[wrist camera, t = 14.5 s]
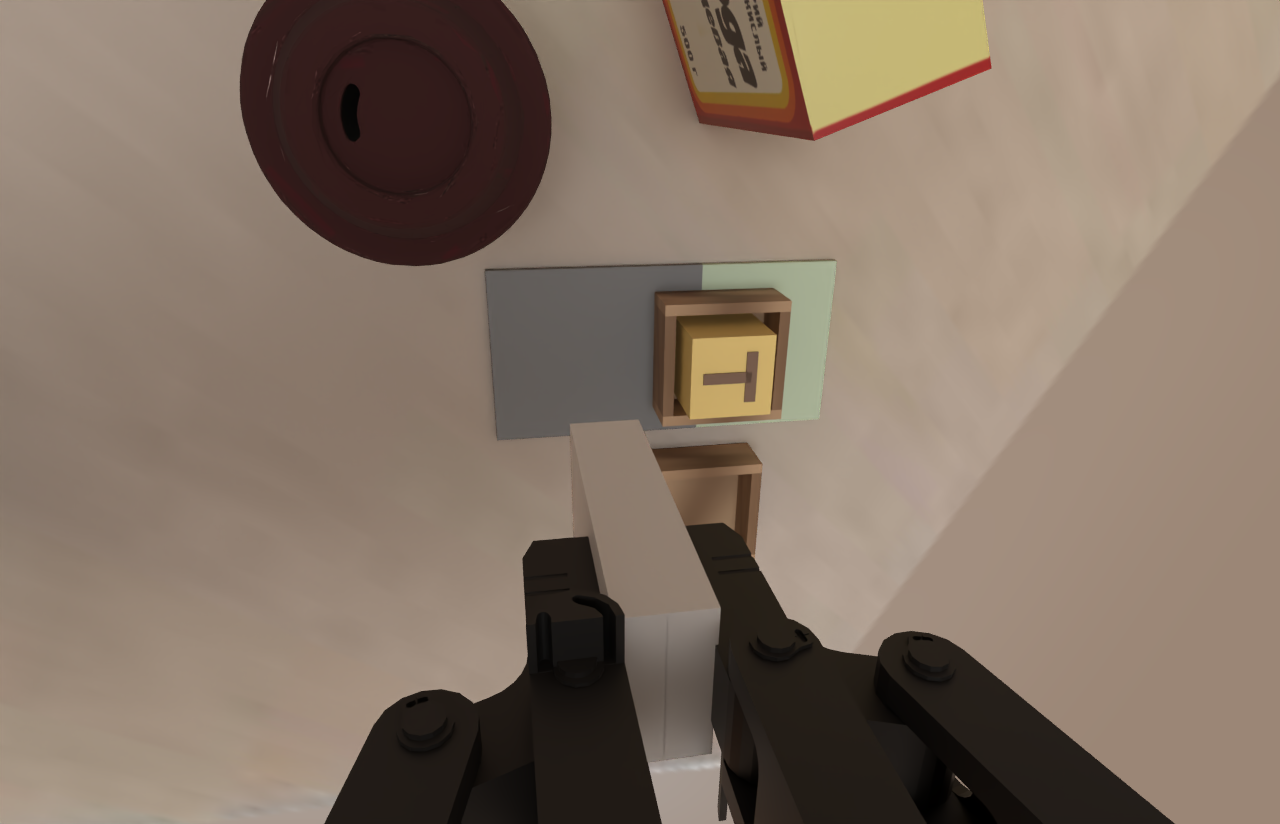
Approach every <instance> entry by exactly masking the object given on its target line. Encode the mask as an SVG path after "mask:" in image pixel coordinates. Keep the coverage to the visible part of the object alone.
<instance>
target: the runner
mask: <svg viewBox="0 0 1280 824" xmlns="http://www.w3.org/2000/svg"><path fill="white" fill-rule="evenodd" d="M836 264H837V261H836V260H806V261H771V262H736V263H701V264H665V265H630V266H595V267H560V268H524V269H489V270H485V276H486V290H487V303H488V317H489V331H490V345H491V358H492V372H493V386H494V400H495V413H496V427H497V440H510V439H525V438H540V437H556V436H570V424H575V423H591V422H607V421H623V420H639V422H640V424H641V426H642V428H643V431H647V430H662V429H678V428H693V427H708V426H723V425H739V424H754V423H769V422H784V421H800V420H815V419H819V415H820V406H821V397H822V388H823V380H824V371H825V362H826V353H827V344H828V335H829V326H830V318H831V309H832V300H833V291H834V282H835V273H836ZM751 288H774V289H776V290H777V291H779V292H780V293H782V294H783V295H784V296H786V297H787V298H789V299H790V300H791V301H792V306H791V317H790V328H789V338H788V349H787V360H786V371H785V382H784V392H783V403H782V414H781V419H775V420H760V421H744V422H728V423H712V424H697V425H681V426H665V427H663V426H662V424H661V422H660V420H659V418H658V416H657V414H656V412H655V410H654V408H653V352H654V299H655V292H660V291H690V290H720V289H751Z"/></svg>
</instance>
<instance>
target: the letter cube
mask: <svg viewBox="0 0 1280 824" xmlns="http://www.w3.org/2000/svg"><path fill="white" fill-rule="evenodd" d="M776 338H777V335H776V334H775V333H774V332H773V331H772V330H770V329H769V328H768V327H767V326H766V325H765V324H763V323H762V322H761V321H760V320H759V319H758V318H756V317H755V316H754V315H753V314H752V313H743V314H717V315H691V316H676V345H675V378H674V394H675V395H676V397H677V399H678V401H679V402H680V404H681V406H682V407H683V409H684V411H685V412H686V414H687V416H688V417H689V419H705V418H720V417H736V416H751V415H767V414H770V410H771V398H772V386H773V374H774V362H775V350H776Z"/></svg>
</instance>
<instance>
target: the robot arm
mask: <svg viewBox="0 0 1280 824" xmlns="http://www.w3.org/2000/svg"><path fill="white" fill-rule="evenodd" d="M570 443H571V477H572V510H573V534H574V538H562V539H551V540H540V541H533V542H532V544H531V546H530V547H529V549H528V550H527V552H526V554H525V555H524V557H523V576H524V593H525V610H526V634H527V650H528V657H527V664H526V666H525V668H524V670H523V672H522V674H521V675H520V676H519V677H518V678H517V680H516V681H515V682H514V683H513V684H511V685H510V686H509V687H507V688H506V689H505V690H503V691H502V692H500V693H498V694H496V695H494V696H492V697H489V698H487V699H484V700H482V701H479V702H477V703H474V704H473V702H471V701H470V700H469V699H467V698H466V697H464V696H463V695H461V694H460V693H456V692H452V691H447V690H442V689H440V690H429V691H421V692H418V693H415V694H413V695H410V696H407V697H404V698H402V699H400V700H399V701H398V702H396V703H395V704H393V705H392V706H390V707H389V708H388V709H386V710H385V711H384V712H383V714H382V715H381V716H380V718H379V719H378V720H377V722H376V723H375V724H374V726H373V728H372V730H371V732H370V734H369V736H368V738H367V740H366V742H365V744H364V746H363V748H362V750H361V752H360V754H359V756H358V758H357V760H356V762H355V764H354V766H353V768H352V770H351V772H350V774H349V776H348V778H347V780H346V782H345V784H344V786H343V788H342V790H341V792H340V794H339V795H338V797H337V799H336V801H335V803H334V805H333V807H332V809H331V811H330V813H329V815H328V817H327V820H326V822H325V824H662V823H661V819H660V814H659V810H658V806H657V801H656V797H655V793H654V788H653V784H652V779H651V775H650V771H649V766H648V762H655V761H663V760H670V759H677V758H684V757H691V756H698V755H705V754H712V739H713V728H714V731H715V734H716V737H717V740H718V743H719V746H720V749H721V752H722V753H721V767H720V781H719V795H718V817H719V821H723V820H726V814H727V803H728V805H729V809H730V812H731V815H732V818H733V821H734V824H1174V823H1173V822H1172V821H1171V820H1170V819H1168V818H1167V817H1166V816H1165V815H1163V814H1162V813H1161V812H1160V811H1159V810H1157V809H1156V808H1155V807H1154V806H1152V805H1151V804H1150V803H1149V802H1148V801H1146V800H1145V799H1144V798H1143V797H1141V796H1140V795H1139V794H1138V793H1137V792H1136V791H1134V790H1133V789H1132V788H1131V787H1129V786H1128V785H1127V784H1126V783H1125V782H1123V781H1122V780H1121V779H1119V777H1117V776H1116V775H1115V774H1113V773H1112V772H1111V771H1110V770H1109V769H1108V768H1106V767H1105V766H1104V765H1103V764H1101V763H1100V762H1099V761H1098V760H1097V759H1095V758H1094V757H1093V756H1092V755H1091V754H1089V753H1088V752H1087V751H1085V750H1084V749H1083V748H1082V747H1081V746H1080V745H1078V744H1077V743H1076V742H1075V741H1073V740H1072V739H1071V738H1070V737H1069V736H1068V735H1066V734H1065V733H1064V732H1063V731H1061V730H1060V729H1059V728H1058V727H1056V726H1055V725H1054V724H1053V723H1052V722H1051V721H1049V720H1048V719H1047V718H1046V717H1044V716H1043V715H1042V714H1041V713H1039V712H1038V711H1037V710H1036V709H1035V708H1033V707H1032V706H1031V705H1030V704H1029V703H1027V702H1026V701H1025V700H1024V699H1022V698H1021V697H1020V696H1019V695H1018V694H1016V693H1015V692H1014V691H1013V690H1012V689H1010V688H1009V687H1008V686H1007V685H1006V684H1004V683H1003V682H1002V681H1001V680H1000V679H998V678H997V677H996V676H995V675H993V674H992V673H991V672H990V671H989V670H987V669H986V668H985V667H984V666H983V665H981V664H980V663H979V662H978V661H976V660H975V659H974V658H973V657H971V656H970V655H969V654H968V653H967V652H965V651H964V650H963V649H961V648H960V647H958V646H957V645H955V644H953V643H952V642H950V641H949V640H947V639H944V638H941V637H938V636H936V635H932V634H930V633H922V632H915V631H909V632H901V633H896V634H893V635H892V636H890V637H888V638H887V639H885V640H884V641H883V643H882V645H881V647H880V649H879V651H878V657H877V656H869V655H861V654H853V653H845V652H840V651H835V650H830V649H827V648H825V647H823V646H822V644H821V643H820V641H819V639H818V638H817V637H816V636H815V635H814V634H813V633H812V632H811V630H810V629H809V628H807V627H805V626H803V625H802V624H800V623H798V622H796V621H795V620H791V619H787V617H786V615H785V613H784V611H783V610H782V608H781V606H780V604H779V602H778V601H777V599H776V597H775V595H774V593H773V592H772V590H771V588H770V586H769V584H768V583H767V581H766V579H765V577H764V575H763V574H762V572H761V571H759V566H758V565H757V563H756V561H755V559H754V557H752V556H751V552H750V550H749V548H748V547H747V545H746V543H745V541H744V539H743V538H742V536H741V535H739V534H738V533H737V532H735V531H734V530H732V529H731V528H730V527H728V526H727V525H726V524H724V523H711V524H700V525H688V526H685V525H684V522H683V520H682V518H681V516H680V513H679V511H678V509H677V506H676V504H675V502H674V499H673V497H672V495H671V493H670V490H669V488H668V486H667V483H666V481H665V479H664V477H663V474H662V472H661V470H660V467H659V465H658V463H657V461H656V458H655V456H654V454H653V451H652V449H651V447H650V445H649V442H648V440H647V438H646V435H645V433H644V431H643V428H642V426H641V424H640V422H639V420H623V421H607V422H591V423H575V424H570ZM955 775H956V776H957V777H958V778H959V779H960V780H961V781H962V782H963V783H964V784H965V785H966V786H967V787H968V788H969V790H968V789H967V788H966V787H965V786H963V785H962V784H961V783H960V782H959V781H958V780H957V779H956V778H955Z"/></svg>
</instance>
